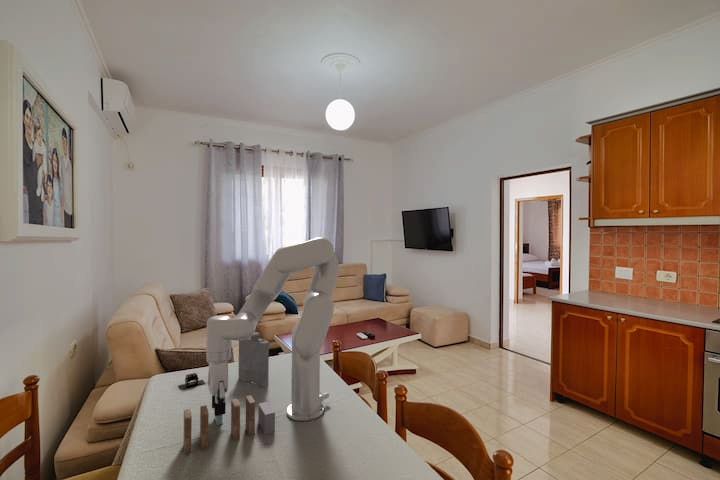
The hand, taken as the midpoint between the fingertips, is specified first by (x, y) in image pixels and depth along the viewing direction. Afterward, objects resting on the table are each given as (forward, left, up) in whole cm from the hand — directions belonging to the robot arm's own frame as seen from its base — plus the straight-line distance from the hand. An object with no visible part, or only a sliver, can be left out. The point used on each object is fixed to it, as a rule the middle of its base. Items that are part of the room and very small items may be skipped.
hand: (218, 410), depth 110 cm
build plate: (-7, -34, -4) cm, 35 cm away
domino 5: (-3, +13, -3) cm, 14 cm away
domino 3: (0, 0, -3) cm, 3 cm away
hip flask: (-25, -18, -4) cm, 31 cm away
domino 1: (+13, +7, -3) cm, 15 cm away
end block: (-8, +15, -3) cm, 17 cm away
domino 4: (+1, +12, -3) cm, 12 cm away
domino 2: (+9, +9, -3) cm, 13 cm away
